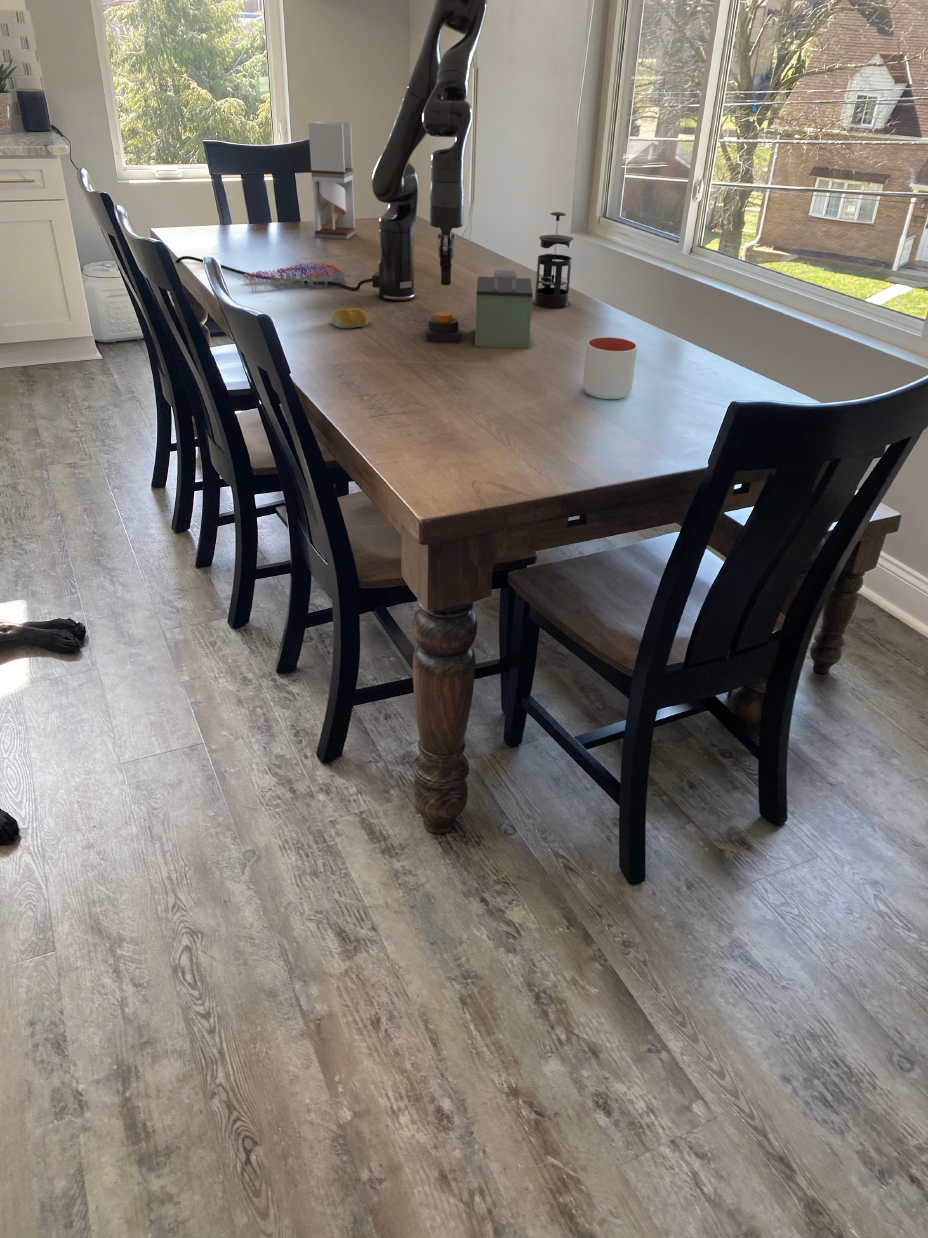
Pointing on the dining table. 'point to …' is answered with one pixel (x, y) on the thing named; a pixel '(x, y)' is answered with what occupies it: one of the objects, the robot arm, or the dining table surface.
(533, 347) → the dining table surface
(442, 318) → the button
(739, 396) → the dining table surface
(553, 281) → the french press
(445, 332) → the block
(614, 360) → the cup
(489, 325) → the sage green box
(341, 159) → the white tower
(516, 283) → the lid
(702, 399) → the dining table surface
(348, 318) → the bread roll
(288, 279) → the multicoloured piece
